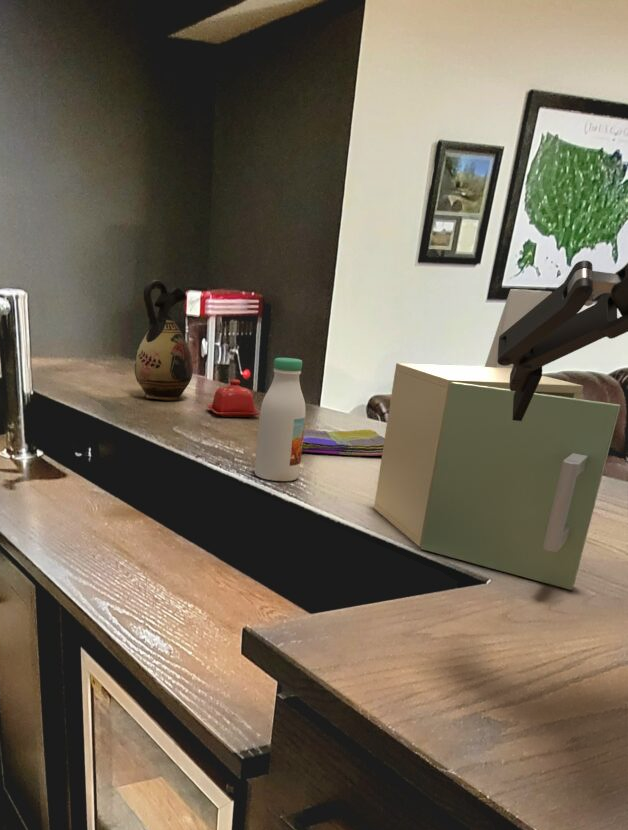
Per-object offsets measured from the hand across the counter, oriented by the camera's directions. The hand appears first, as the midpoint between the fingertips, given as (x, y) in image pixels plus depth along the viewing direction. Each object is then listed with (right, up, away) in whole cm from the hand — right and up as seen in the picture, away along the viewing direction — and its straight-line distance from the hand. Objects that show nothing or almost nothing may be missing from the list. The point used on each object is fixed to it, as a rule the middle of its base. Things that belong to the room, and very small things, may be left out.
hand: (600, 416), depth 64 cm
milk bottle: (-20, -2, +61) cm, 65 cm away
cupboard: (+3, -10, +40) cm, 42 cm away
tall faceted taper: (+21, -1, +71) cm, 74 cm away
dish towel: (-6, +6, +86) cm, 86 cm away
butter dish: (-24, +16, +113) cm, 117 cm away
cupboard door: (0, -16, +24) cm, 28 cm away
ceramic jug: (-42, +22, +129) cm, 137 cm away
